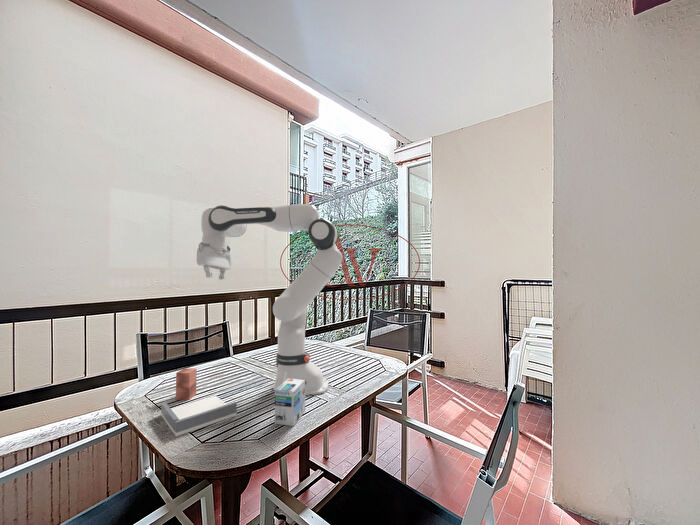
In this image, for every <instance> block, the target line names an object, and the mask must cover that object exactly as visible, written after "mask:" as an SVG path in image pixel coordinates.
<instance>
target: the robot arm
mask: <svg viewBox="0 0 700 525" xmlns="http://www.w3.org/2000/svg"><path fill="white" fill-rule="evenodd" d="M200 222H201V225H200V226H201V233H202V238H201V242H200V243H198V248H197V250H196V265H198V266H201V267H203V270H204V273H205V277H206V278H208V279H211V278H213V273H212V271H211V269H215V270H219V272H220V273H219V275H218V280H220V281H221V280H222V281H223V280H225V277H226V276H225V275H226V273H227V271H229V270H231V267H232V257H231V253H232V248H231V247H230V246H229V245H228V243H227V242H226V239H225V238H226V237H228V238H239V237H241V236H243V235H244V234H245V233H246V231H247V227H248V226H247V225H262V226H266V227H268V228H271V229H273V230H275V231H278V232H285V233H286V232H287V233H289V232H290V233H292V232H298V231H307V232H308V237H309V240H310V241H311V242H312V244H313V246H314V247H315V248H316V249H317V251H316V254H315V255H314V256H313V258H312V259H311V260H310V261H309V263H308V264H307V265H306V266H305V267H304V269H303V270H302V271H301V272H300V273H299V274H298V276H297V277H296V278H295V279H294V280H293V281H292V282H291V283H290V284H289V285H288V286H287V287H286V289H284V291H283V292H281V294H280V295H279V296H278V298H276V300H275V301H274V303H273V305H272V314H273V315H274V317H275V319H277V320H278V321H280V323H279V328H278V329H279V330H278V332H277V353H276V357H275V363H276V376H275V381H274V383H273V384H274V385H273V388H272V389H273V390H274V391H275V389H277V388H278V387H279V386H280V385H281V384H282V383H283V382H285V381H286V380H287V379H298V380H305V396H308V395H309V396H310V394H311V395H322V394H324V393H326V392H327V391H328V389H329V381H328V380H327V378H324V376H323V371H322V369H321V368H320V367H318V366H317V365H316V364H314V363H313V362H312V361H310V358H311V357H310V356H311V355H310V352H307V351H305V350H306V345H305V344H306V339H305V338H306V336H305V335H306V325H307V317H308V316H307V315H308V306H309V305H310V303H311V302H312V301H313V300H314V299H315V298H316V297H317V296H318V294H320V292H322V290H323V289H324V288H325V286H326V285H327V284H328V283H329V281H330V280H331V279H332V278H333V276H334V275H335V273H336V272H337V271H338V269H339V267H340V266H341V263H342V262H343V258H344V256H343V254H342V252H341V251H340V249H338V247H336V243H337V242H338V239H339V233H338V232H339V231H338V229H337V228H336V226H335V224H334V223H332V222H331V221H330V220H328V219H326V218H321V217H320V213H319V211H318V209H317V207H316V206H315V205H313V204H303V203H301V204H300V203H299V204H287V205H278V206H267V207H266V206H265V207H241V208H239V207H238V208H236V207H235V208H234V207H233V208H232V207H229V206H227V205H222V204H221V205H217V206H215V207H210V208H207V209H205V210H204V211H203V212H202V214H201V221H200ZM326 390H327V391H326ZM321 393H322V394H321Z"/></svg>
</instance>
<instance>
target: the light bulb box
mask: <svg viewBox="0 0 700 525" xmlns="http://www.w3.org/2000/svg"><path fill="white" fill-rule="evenodd" d="M305 412H306V395H305V380H298V379H287V380H286V381H285V382H283V383H282V384H281V385H280V386H279V387H278V388H277V389H275V390H274V425H282V426H288V427H289V426H291V427H293V426H295V425H296V424H297V423H298V421H299V420H300V418H301V417H302V416H303V415H304V414H305Z"/></svg>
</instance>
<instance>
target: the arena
mask: <svg viewBox="0 0 700 525" xmlns="http://www.w3.org/2000/svg"><path fill="white" fill-rule="evenodd" d="M160 405H161V406H160V407H161V408H160V416H161V417H162V419H163V421H164V422H165V423H166V425H167V426H168V428H169V429H170V430H171V432H172V433H173V434H174V436H175V437H178V436H181V435H184V434H187V433H191V432H192V431H196V430H198V429H202V428H205V427H207V426H210V425H213V424H216V423H218V422H222V421H225V420H226V419H227V420H228V419H231V418H232V417H236V416H237V413H238V412H237V402H231V403H228V404H227V403H225V402H224V401H223V400H222V399H221V398H219V397H218V396H217V395H214V396H211V397H207V398H204V399H200V400H197V401H193V402H190V403H187V404H184V405H180V406H177V407H173V408H171V407H170V406H169V404H168V403H167V402H161V404H160Z"/></svg>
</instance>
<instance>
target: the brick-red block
mask: <svg viewBox="0 0 700 525" xmlns="http://www.w3.org/2000/svg"><path fill="white" fill-rule="evenodd" d="M196 395H197V368H192V367H191V368H187V367H186V368H181V369H180V370H179V371H177V372H176V374H175V401H189V400H192V398H194V397H195V396H196Z"/></svg>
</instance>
